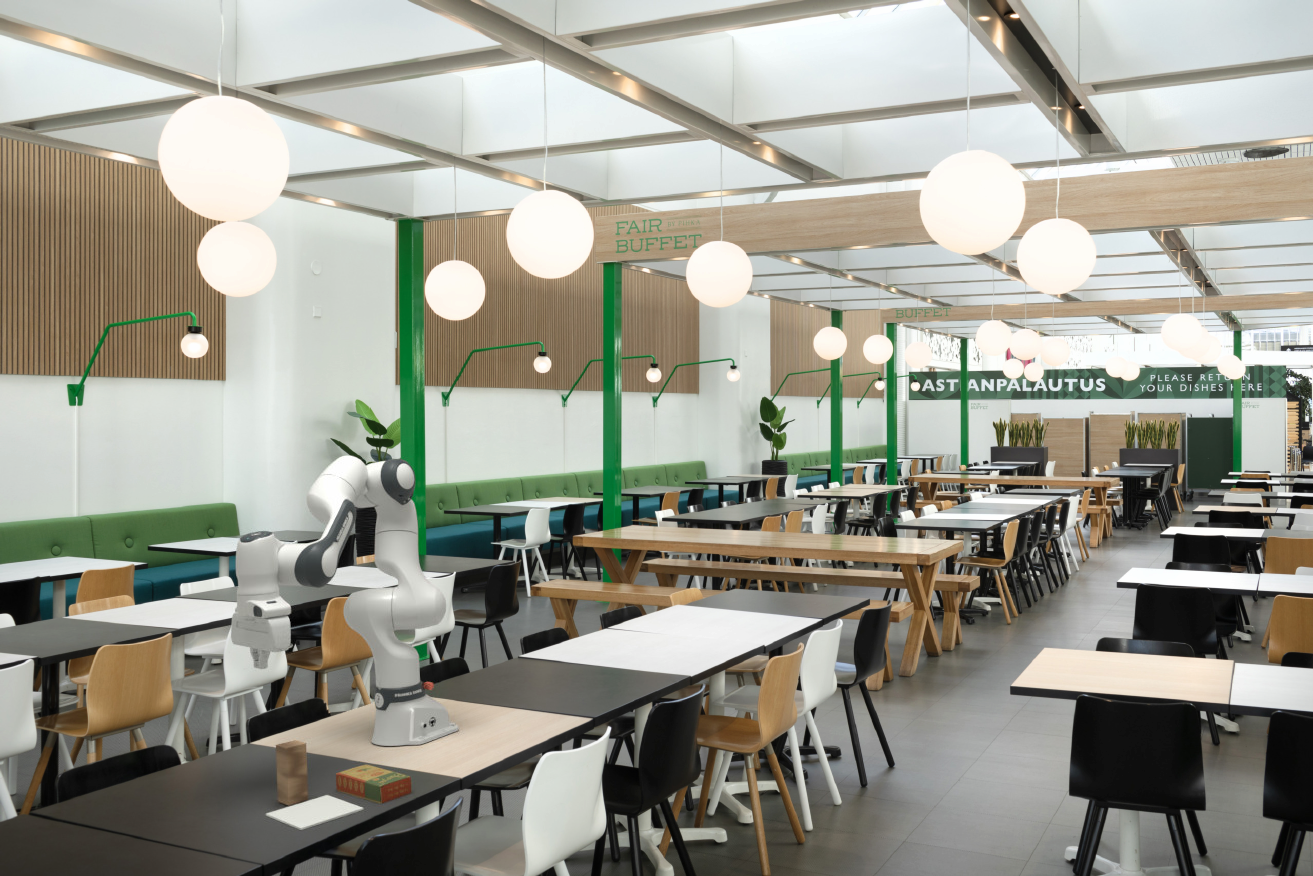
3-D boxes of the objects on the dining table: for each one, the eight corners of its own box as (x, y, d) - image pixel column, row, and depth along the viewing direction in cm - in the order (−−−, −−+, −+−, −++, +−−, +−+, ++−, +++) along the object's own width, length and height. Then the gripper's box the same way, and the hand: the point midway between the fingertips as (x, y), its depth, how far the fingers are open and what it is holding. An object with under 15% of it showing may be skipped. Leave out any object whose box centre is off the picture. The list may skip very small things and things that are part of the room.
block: (297, 796, 224) (295, 740, 224) (308, 800, 221) (306, 743, 221) (277, 802, 221) (275, 745, 221) (288, 806, 218) (286, 748, 218)
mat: (327, 796, 223) (327, 795, 223) (363, 810, 214) (363, 808, 214) (265, 815, 213) (265, 813, 213) (301, 830, 203) (301, 828, 203)
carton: (367, 782, 234) (366, 763, 234) (412, 794, 224) (412, 774, 224) (335, 792, 227) (335, 772, 227) (380, 805, 217) (380, 785, 217)
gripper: (222, 604, 234) (224, 665, 234) (267, 611, 220) (270, 676, 220) (249, 600, 239) (251, 660, 239) (295, 607, 225) (297, 670, 225)
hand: (260, 668), depth 229 cm, fingers closed
